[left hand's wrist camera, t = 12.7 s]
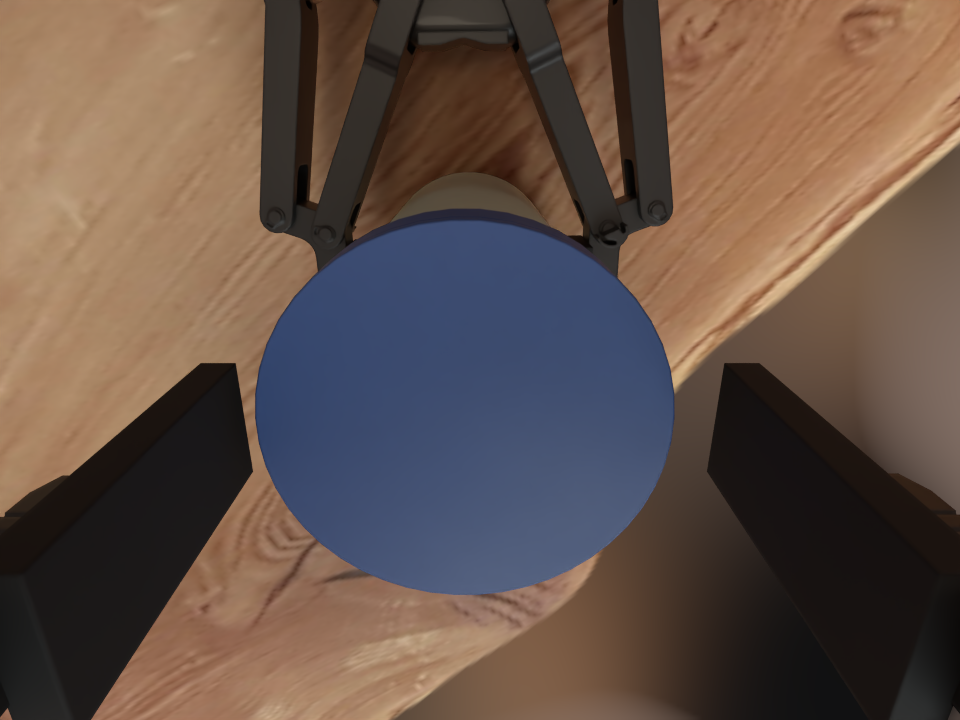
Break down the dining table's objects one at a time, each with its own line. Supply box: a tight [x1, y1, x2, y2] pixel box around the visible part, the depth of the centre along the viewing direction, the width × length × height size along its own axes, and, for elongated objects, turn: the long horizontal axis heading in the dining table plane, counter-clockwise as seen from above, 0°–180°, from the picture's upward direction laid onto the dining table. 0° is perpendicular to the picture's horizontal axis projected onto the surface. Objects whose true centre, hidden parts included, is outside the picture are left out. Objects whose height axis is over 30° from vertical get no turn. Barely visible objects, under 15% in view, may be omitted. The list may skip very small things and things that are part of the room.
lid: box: [255, 209, 674, 595], centre depth 14 cm, size 9×9×2 cm
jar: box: [390, 172, 550, 227], centre depth 22 cm, size 8×8×18 cm
